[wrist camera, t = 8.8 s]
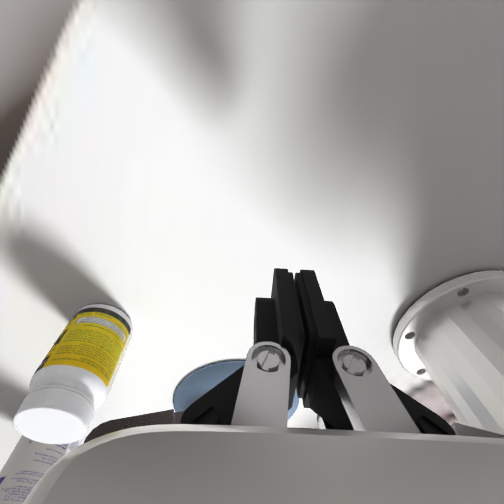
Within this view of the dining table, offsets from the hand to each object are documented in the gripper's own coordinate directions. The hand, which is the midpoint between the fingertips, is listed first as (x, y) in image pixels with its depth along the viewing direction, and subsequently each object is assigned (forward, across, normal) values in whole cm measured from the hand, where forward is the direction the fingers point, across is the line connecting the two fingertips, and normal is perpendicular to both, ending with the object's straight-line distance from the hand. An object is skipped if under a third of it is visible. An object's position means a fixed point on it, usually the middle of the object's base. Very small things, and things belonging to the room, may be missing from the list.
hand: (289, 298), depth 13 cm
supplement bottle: (+8, +13, +10) cm, 19 cm away
